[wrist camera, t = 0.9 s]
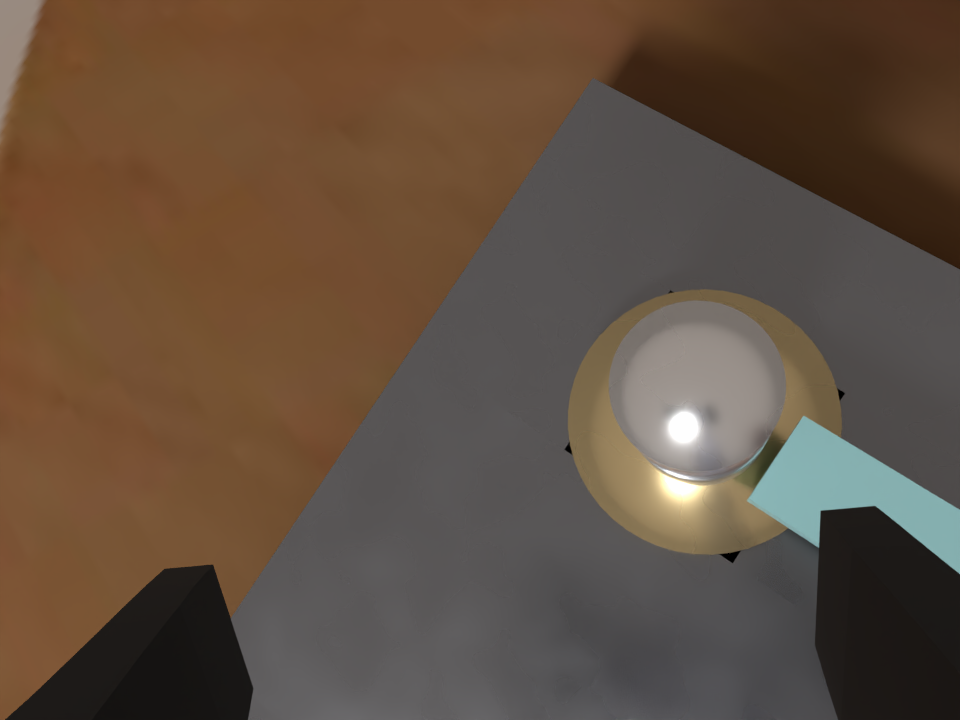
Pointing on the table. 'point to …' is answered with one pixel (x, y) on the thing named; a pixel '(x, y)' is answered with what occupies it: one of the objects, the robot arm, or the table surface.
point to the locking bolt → (850, 491)
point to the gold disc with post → (694, 416)
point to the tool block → (554, 475)
